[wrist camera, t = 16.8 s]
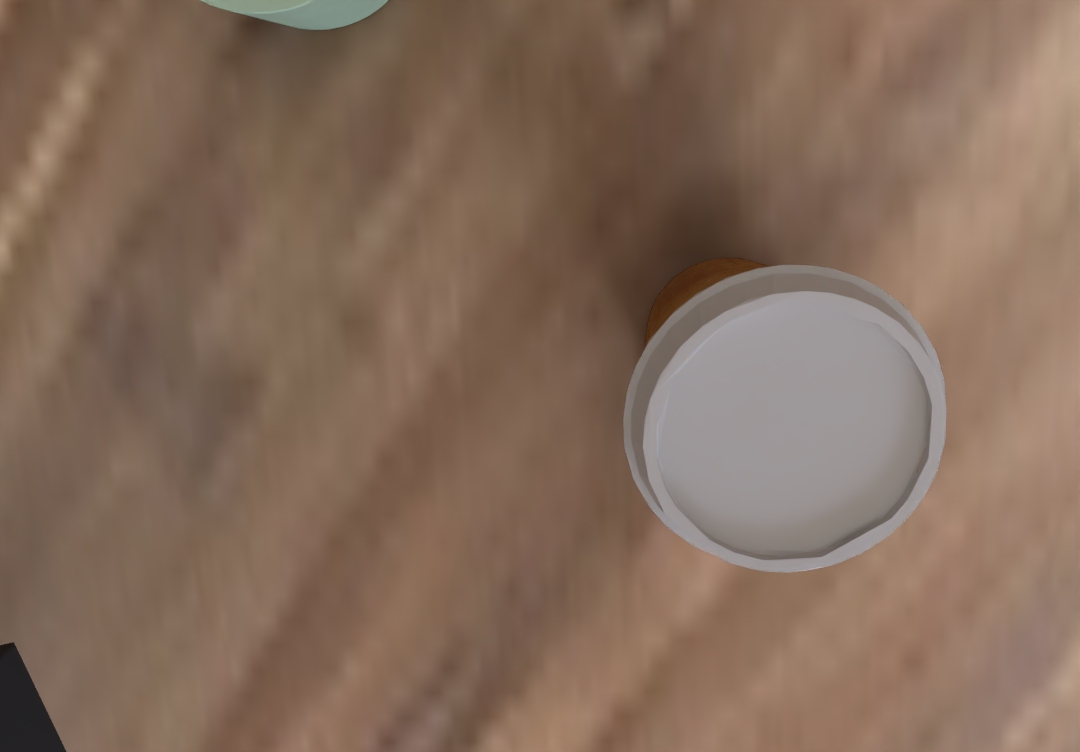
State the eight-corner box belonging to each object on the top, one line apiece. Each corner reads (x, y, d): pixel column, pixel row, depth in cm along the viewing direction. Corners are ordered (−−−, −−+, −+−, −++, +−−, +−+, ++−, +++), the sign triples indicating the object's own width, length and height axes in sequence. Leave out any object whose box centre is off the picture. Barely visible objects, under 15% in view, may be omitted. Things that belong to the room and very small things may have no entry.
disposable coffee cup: (612, 448, 39) (633, 594, 28) (601, 224, 36) (619, 284, 25) (837, 435, 39) (953, 579, 27) (843, 208, 36) (976, 261, 24)
